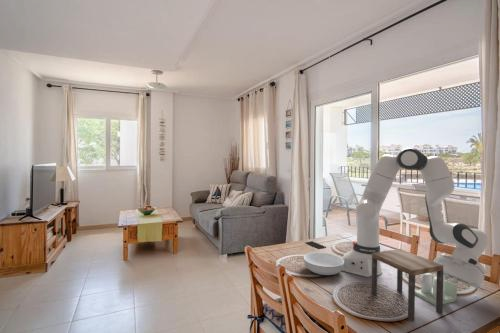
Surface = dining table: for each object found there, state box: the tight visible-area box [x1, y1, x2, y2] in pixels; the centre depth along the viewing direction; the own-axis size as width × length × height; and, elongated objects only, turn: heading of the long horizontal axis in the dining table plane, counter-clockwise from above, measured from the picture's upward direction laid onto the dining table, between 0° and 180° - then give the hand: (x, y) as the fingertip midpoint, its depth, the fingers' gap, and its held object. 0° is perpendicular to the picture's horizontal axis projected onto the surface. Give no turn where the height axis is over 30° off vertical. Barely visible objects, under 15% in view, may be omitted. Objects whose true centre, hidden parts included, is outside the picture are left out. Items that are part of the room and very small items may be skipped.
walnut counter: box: [370, 248, 444, 322], centre depth 113 cm, size 16×20×19 cm
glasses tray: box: [415, 273, 458, 307], centre depth 118 cm, size 12×10×10 cm
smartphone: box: [304, 240, 327, 250], centre depth 189 cm, size 7×1×15 cm
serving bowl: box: [303, 252, 344, 276], centre depth 145 cm, size 21×21×7 cm
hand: (446, 285), depth 120 cm, fingers closed
